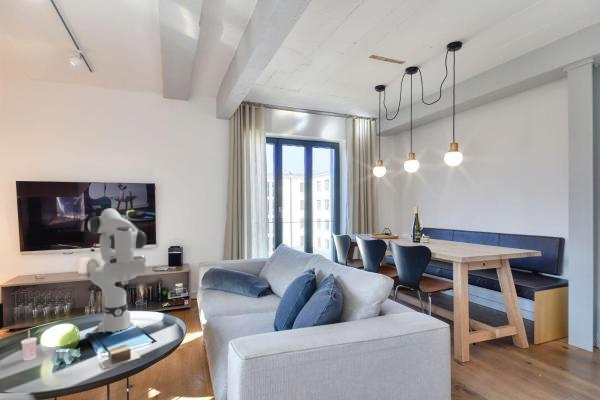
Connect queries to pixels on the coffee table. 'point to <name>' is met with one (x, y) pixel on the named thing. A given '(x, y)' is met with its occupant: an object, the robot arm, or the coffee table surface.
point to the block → (119, 354)
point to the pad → (108, 364)
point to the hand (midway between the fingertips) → (124, 284)
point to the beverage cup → (29, 347)
